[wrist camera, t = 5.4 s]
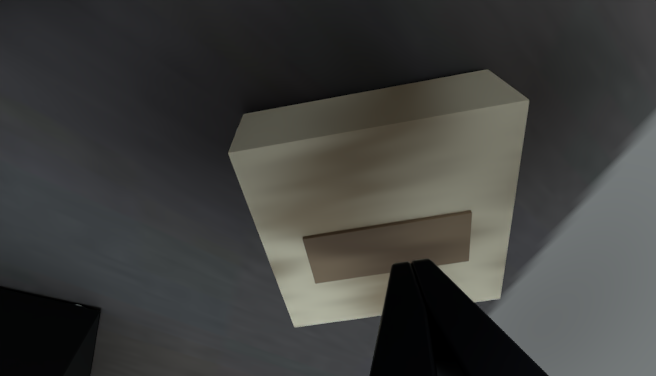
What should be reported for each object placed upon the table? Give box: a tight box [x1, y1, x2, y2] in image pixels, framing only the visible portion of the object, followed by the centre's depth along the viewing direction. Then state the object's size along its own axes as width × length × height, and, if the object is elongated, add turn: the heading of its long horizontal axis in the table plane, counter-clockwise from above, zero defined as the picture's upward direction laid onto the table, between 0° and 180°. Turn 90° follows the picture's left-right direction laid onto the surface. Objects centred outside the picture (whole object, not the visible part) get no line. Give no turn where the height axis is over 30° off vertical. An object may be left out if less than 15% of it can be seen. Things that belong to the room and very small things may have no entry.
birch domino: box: [228, 69, 529, 327], centre depth 14 cm, size 9×3×9 cm
